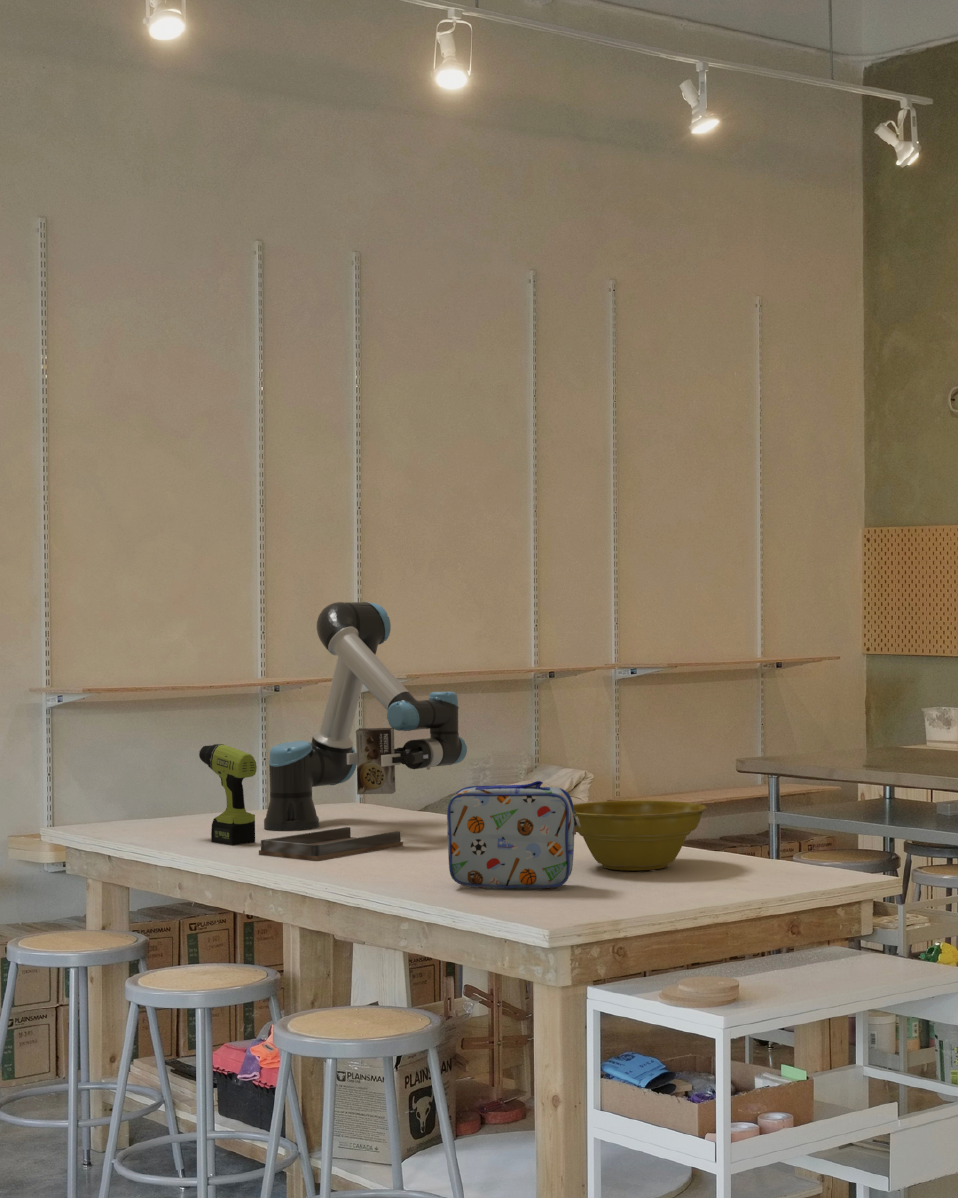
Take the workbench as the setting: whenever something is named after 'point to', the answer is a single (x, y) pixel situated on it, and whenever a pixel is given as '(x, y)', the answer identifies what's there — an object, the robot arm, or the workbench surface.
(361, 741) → the coffee box
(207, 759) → the cordless drill
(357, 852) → the brown tray
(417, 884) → the workbench surface
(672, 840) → the planter bowl
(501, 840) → the lunch box
